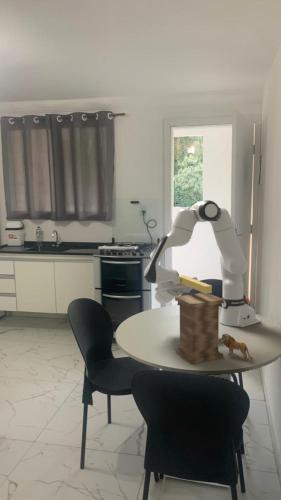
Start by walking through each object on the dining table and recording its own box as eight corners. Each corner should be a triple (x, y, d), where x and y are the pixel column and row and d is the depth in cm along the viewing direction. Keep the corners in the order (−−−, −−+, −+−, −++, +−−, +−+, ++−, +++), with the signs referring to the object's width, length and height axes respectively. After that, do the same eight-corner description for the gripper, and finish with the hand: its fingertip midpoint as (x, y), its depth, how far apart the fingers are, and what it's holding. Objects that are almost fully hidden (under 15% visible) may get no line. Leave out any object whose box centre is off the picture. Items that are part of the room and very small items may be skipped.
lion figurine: (218, 354, 174) (219, 334, 173) (224, 350, 178) (224, 331, 177) (250, 362, 165) (251, 341, 164) (255, 357, 170) (255, 337, 168)
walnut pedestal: (205, 346, 183) (205, 292, 180) (223, 357, 170) (223, 299, 167) (175, 352, 177) (174, 296, 173) (191, 364, 164) (191, 304, 161)
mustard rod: (183, 281, 185) (183, 275, 184) (211, 292, 163) (211, 285, 163) (177, 282, 184) (177, 275, 183) (205, 293, 162) (205, 286, 161)
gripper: (152, 284, 190) (162, 275, 178) (188, 280, 197) (201, 270, 186) (154, 297, 187) (166, 288, 176) (192, 292, 195) (205, 283, 183)
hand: (184, 279), depth 181 cm, fingers closed on mustard rod, 3 cm apart
